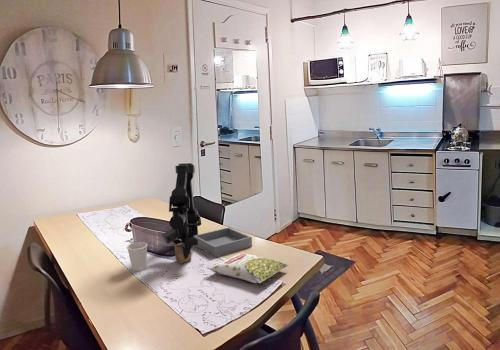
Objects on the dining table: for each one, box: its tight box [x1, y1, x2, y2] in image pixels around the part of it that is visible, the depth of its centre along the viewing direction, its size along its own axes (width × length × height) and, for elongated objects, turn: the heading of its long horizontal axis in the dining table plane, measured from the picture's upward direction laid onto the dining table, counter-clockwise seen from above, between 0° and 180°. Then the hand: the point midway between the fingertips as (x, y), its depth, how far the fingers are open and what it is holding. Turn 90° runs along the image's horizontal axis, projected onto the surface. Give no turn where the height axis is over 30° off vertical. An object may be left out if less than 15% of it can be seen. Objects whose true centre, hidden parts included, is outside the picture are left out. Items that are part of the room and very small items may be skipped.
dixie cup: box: [126, 241, 148, 272], centre depth 174 cm, size 8×8×10 cm
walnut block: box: [174, 243, 192, 264], centre depth 180 cm, size 5×5×7 cm
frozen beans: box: [207, 252, 289, 284], centre depth 165 cm, size 21×6×25 cm
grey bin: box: [193, 226, 253, 257], centre depth 197 cm, size 20×20×4 cm
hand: (183, 256), depth 181 cm, fingers closed on walnut block, 5 cm apart
